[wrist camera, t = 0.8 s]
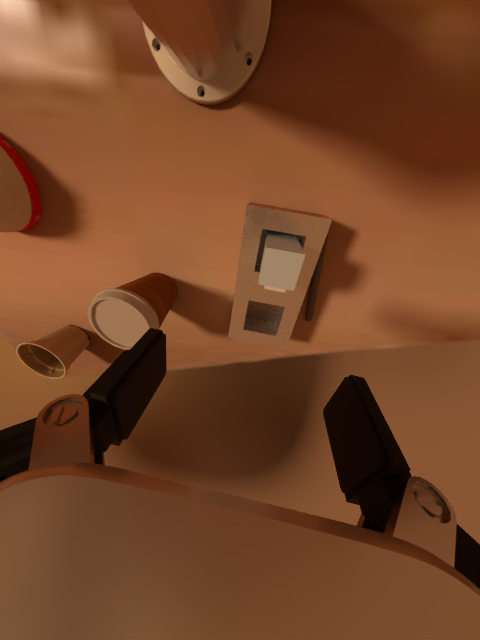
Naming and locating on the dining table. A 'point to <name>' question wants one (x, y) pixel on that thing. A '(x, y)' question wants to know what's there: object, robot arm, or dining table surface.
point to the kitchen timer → (17, 192)
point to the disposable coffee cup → (132, 309)
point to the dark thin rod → (315, 284)
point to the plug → (280, 262)
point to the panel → (251, 298)
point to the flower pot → (53, 351)
